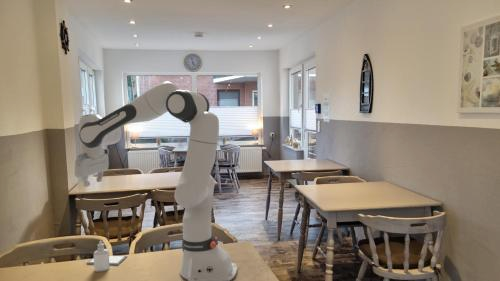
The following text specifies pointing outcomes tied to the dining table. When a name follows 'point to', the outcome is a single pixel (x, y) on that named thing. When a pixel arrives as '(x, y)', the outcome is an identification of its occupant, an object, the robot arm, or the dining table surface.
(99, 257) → the eye dropper bottle
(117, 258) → the paper
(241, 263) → the dining table surface
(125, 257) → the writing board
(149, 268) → the dining table surface
